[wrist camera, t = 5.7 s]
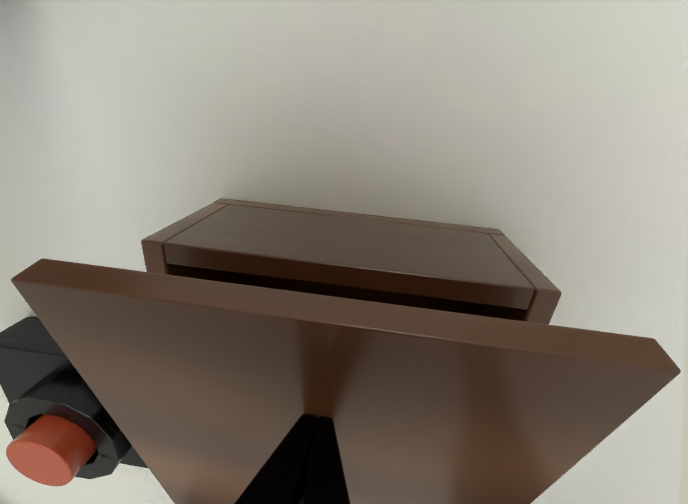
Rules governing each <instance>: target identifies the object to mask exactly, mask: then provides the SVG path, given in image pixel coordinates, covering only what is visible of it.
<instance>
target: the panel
mask: <svg viewBox="0 0 688 504" xmlns="http://www.w3.org/2000/svg"><path fill="white" fill-rule="evenodd" d="M0 385H1V387H2V389H3V391H4V393H5V395H6V397H7V399H8V402H9V404H10V405H9V408H8V411H7V415H6V418H5V424H6V426H7V428H8V430H9V432H10V434H11V436H12V438H13V440H14V439H15V438H17V437H18V436H19V435H20V434H21V433H22V432H23V431H25V430H26V429H27V428H28V427H29V426H30V425H31V424H32V423H34V422H35V421H36V420H37V419H38V418H39V417H41V416H42V415H44V414H46V415H52V416H58V417H62V418H64V419H66V420H68V421H70V422H72V423H74V424H76V425H78V426H80V427H81V428H82V429H83V430H84V431H85V432H86V433H87V434H88V435H89V436H90V437H91V438H92V439H93V440H94V442H95V445H96V447H97V450H96V452H95V453H94V454H93V456H92V457H91V458H90V459H89V460H88V461H87V463H86V464H85V465H84V466H83V467H82V468H81V470H80V471H79V472H78V473H77V474H76V475H75V477H81V478H86V479H93V478H97V477H101V476H106V475H110V474H112V472H113V471H114V470H115V468H116V467H117V466H118V464H119V463H122V464H127V465H133V466H139V467H144V468H148V466H147V465H146V464H145V462H144V461H143V460H142V458H141V457H140V456H139V454H138V453H137V451H136V450H135V449H134V447H133V446H132V445H131V443H130V442H129V441H128V439H127V438H126V436H125V435H124V434H123V432H122V431H121V430H120V428H119V427H118V426H117V424H116V423H115V421H114V420H113V419H112V417H111V416H110V415H109V413H108V412H107V411H106V409H105V408H104V407H103V405H102V404H101V402H100V401H99V400H98V398H97V397H96V396H95V394H94V393H93V392H92V390H91V389H90V387H89V386H88V385H87V383H86V382H85V381H84V379H83V378H82V377H81V375H80V374H79V372H78V371H77V370H76V368H75V367H74V366H73V364H72V363H71V362H70V360H69V359H68V358H67V356H66V355H65V353H64V352H63V351H62V349H61V348H60V347H59V345H58V344H57V343H56V341H55V340H54V338H53V337H52V336H51V334H50V333H49V332H48V330H47V329H46V328H45V326H44V325H43V323H42V322H41V321H40V319H39V318H34V317H26V318H25V319H23V320H21V321H19V322H18V323H16V324H14V325H12V326H11V327H9V328H7V329H5V330H4V331H2V332H0Z"/></svg>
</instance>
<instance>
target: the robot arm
mask: <svg viewBox="0 0 688 504" xmlns="http://www.w3.org/2000/svg"><path fill="white" fill-rule="evenodd" d="M234 504H350V500H349V495H348V490H347V485H346V480H345V475H344V470H343V465H342V461H341V456H340V451H339V446H338V441H337V436H336V431H335V426H334V422H333V419H332V418H330V417H324V416H319V417H318V418H317V416H316V415H311V414H302V415H301V416H300V417H299V419H298V420H297V421H296V423H295V424H294V425H293V427H292V428H291V429H290V431H289V432H288V433H287V435H286V436H285V437H284V439H283V440H282V441H281V443H280V444H279V445H278V446H277V448H276V449H275V450H274V452H273V453H272V454H271V456H270V457H269V458H268V460H267V461H266V462H265V464H264V465H263V466H262V468H261V469H260V470H259V472H258V473H257V474H256V476H255V477H254V478H253V479H252V481H251V482H250V483H249V485H248V486H247V487H246V489H245V490H244V491H243V493H242V494H241V495H240V497H239V498H238V499H237V501H236V502H235V503H234Z"/></svg>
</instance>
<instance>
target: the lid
mask: <svg viewBox="0 0 688 504" xmlns="http://www.w3.org/2000/svg"><path fill="white" fill-rule="evenodd" d="M11 281H12V283H13V284H14V285H15V287H16V288H17V289H18V291H19V292H20V294H21V295H22V296H23V298H24V299H25V300H26V302H27V303H28V304H29V306H30V307H31V309H32V310H33V311H34V313H35V314H36V315H37V317H38V318H39V319H40V321H41V322H42V323H43V325H44V326H45V328H46V329H47V330H48V332H49V333H50V334H51V336H52V337H53V338H54V340H55V341H56V343H57V344H58V345H59V347H60V348H61V349H62V351H63V352H64V353H65V355H66V356H67V358H68V359H69V360H70V362H71V363H72V364H73V366H74V367H75V368H76V370H77V371H78V372H79V374H80V375H81V377H82V378H83V379H84V381H85V382H86V383H87V385H88V386H89V387H90V389H91V390H92V392H93V393H94V394H95V396H96V397H97V398H98V400H99V401H100V402H101V404H102V405H103V407H104V408H105V409H106V411H107V412H108V413H109V415H110V416H111V417H112V419H113V420H114V421H115V423H116V424H117V426H118V427H119V428H120V430H121V431H122V432H123V434H124V435H125V436H126V438H127V439H128V441H129V442H130V443H131V445H132V446H133V447H134V449H135V450H136V451H137V453H138V454H139V456H140V457H141V458H142V460H143V461H144V462H145V464H146V465H147V466H148V468H149V469H150V470H151V472H152V473H153V475H154V476H155V477H156V479H157V480H158V481H159V483H160V484H161V485H162V487H163V488H164V490H165V491H166V492H167V494H168V495H169V496H170V498H171V499H172V500H173V502H174V503H175V504H234V503H235V502H236V501H237V499H238V498H239V497H240V495H241V494H242V493H243V491H244V490H245V489H246V487H247V486H248V485H249V483H250V482H251V481H252V479H253V478H254V477H255V476H256V474H257V473H258V472H259V470H260V469H261V468H262V466H263V465H264V464H265V462H266V461H267V460H268V458H269V457H270V456H271V454H272V453H273V452H274V450H275V449H276V448H277V446H278V445H279V444H280V443H281V441H282V440H283V439H284V437H285V436H286V435H287V433H288V432H289V431H290V429H291V428H292V427H293V425H294V424H295V423H296V421H297V420H298V419H299V417H300V416H301V415H302V414H311V415H316V416H317V418H318V417H319V416H324V417H330V418H332V419H333V422H334V426H335V431H336V436H337V441H338V446H339V451H340V456H341V461H342V465H343V470H344V475H345V480H346V485H347V490H348V495H349V500H350V504H530V503H532V502H533V501H534V500H535V499H536V498H537V497H538V496H540V495H541V494H542V493H543V492H544V491H545V490H546V489H548V488H549V487H550V486H551V485H552V484H553V483H555V482H556V481H557V480H558V479H559V478H560V477H561V476H563V475H564V474H565V473H566V472H567V471H568V470H569V469H571V468H572V467H573V466H574V465H575V464H576V463H577V462H579V461H580V460H581V459H582V458H583V457H584V456H585V455H587V454H588V453H589V452H590V451H591V450H592V449H593V448H595V447H596V446H597V445H598V444H599V443H600V442H602V441H603V440H604V439H605V438H606V437H607V436H608V435H610V434H611V433H612V432H613V431H614V430H615V429H616V428H618V427H619V426H620V425H621V424H622V423H623V422H624V421H626V420H627V419H628V418H629V417H630V416H631V415H632V414H634V413H635V412H636V411H637V410H638V409H639V408H640V407H642V406H643V405H644V404H645V403H646V402H647V401H648V400H650V399H651V398H652V397H653V396H654V395H655V394H657V393H658V392H659V391H660V390H661V389H662V388H663V387H665V386H666V385H667V384H668V383H669V382H670V381H671V380H673V379H674V378H675V377H676V376H677V375H678V374H679V373H680V372H681V371H680V369H679V368H678V366H677V365H676V364H675V363H674V362H673V360H672V359H671V358H670V357H669V356H668V354H667V353H666V352H665V351H664V350H663V348H662V347H661V346H660V345H659V344H658V342H657V341H656V340H655V339H653V338H646V337H638V336H631V335H623V334H615V333H608V332H600V331H592V330H585V329H577V328H570V327H562V326H554V325H547V324H539V323H531V322H524V321H516V320H509V319H501V318H493V317H486V316H478V315H470V314H463V313H455V312H447V311H440V310H432V309H425V308H417V307H409V306H402V305H394V304H386V303H379V302H371V301H363V300H356V299H348V298H341V297H333V296H325V295H318V294H310V293H302V292H295V291H287V290H280V289H272V288H264V287H257V286H249V285H241V284H234V283H226V282H218V281H211V280H203V279H196V278H188V277H180V276H173V275H165V274H157V273H150V272H142V271H134V270H127V269H119V268H112V267H104V266H96V265H89V264H81V263H73V262H66V261H58V260H51V259H40V260H39V261H37V262H36V263H34V264H33V265H31V266H30V267H28V268H27V269H25V270H24V271H22V272H21V273H19V274H18V275H16V276H14V277H13V278H12V279H11Z"/></svg>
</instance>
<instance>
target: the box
mask: <svg viewBox="0 0 688 504" xmlns="http://www.w3.org/2000/svg"><path fill="white" fill-rule="evenodd" d="M141 244H142V249H143V254H144V260H145V265H146V270H147V272H150V273H157V274H165V275H173V276H180V277H188V278H196V279H203V280H211V281H218V282H226V283H234V284H241V285H249V286H257V287H264V288H272V289H280V290H287V291H295V292H302V293H310V294H318V295H325V296H333V297H341V298H348V299H356V300H363V301H371V302H379V303H386V304H394V305H402V306H409V307H417V308H425V309H432V310H440V311H447V312H455V313H463V314H470V315H478V316H486V317H493V318H501V319H509V320H516V321H524V322H531V323H539V324H547V325H549V322H550V320H551V318H552V315H553V313H554V310H555V308H556V306H557V303H558V301H559V298H560V296H561V291H560V290H559V289H558V288H557V287H556V286H555V285H554V284H553V283H552V282H551V281H550V280H549V279H548V278H547V277H546V276H545V275H544V274H543V273H542V272H541V271H540V270H539V269H538V268H537V267H536V266H535V265H534V264H533V263H532V262H531V261H530V260H529V259H528V258H527V257H526V256H525V255H524V254H523V253H522V252H521V251H520V250H519V249H518V248H517V247H516V246H515V245H514V244H513V243H512V242H511V241H510V240H509V239H508V238H507V237H506V236H505V235H504V234H503V233H502V232H501V231H500V230H499V229H490V228H481V227H472V226H463V225H454V224H445V223H437V222H428V221H419V220H410V219H401V218H392V217H383V216H374V215H365V214H356V213H347V212H338V211H329V210H320V209H311V208H302V207H293V206H284V205H275V204H266V203H257V202H248V201H240V200H231V199H222V198H221V199H219V200H217V201H215V202H213V203H212V204H210V205H208V206H206V207H204V208H202V209H200V210H198V211H196V212H194V213H193V214H191V215H189V216H187V217H185V218H183V219H181V220H179V221H177V222H175V223H173V224H171V225H170V226H168V227H166V228H164V229H162V230H160V231H158V232H156V233H154V234H152V235H150V236H148V237H146V238H145V239H143V240H142V241H141Z"/></svg>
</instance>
